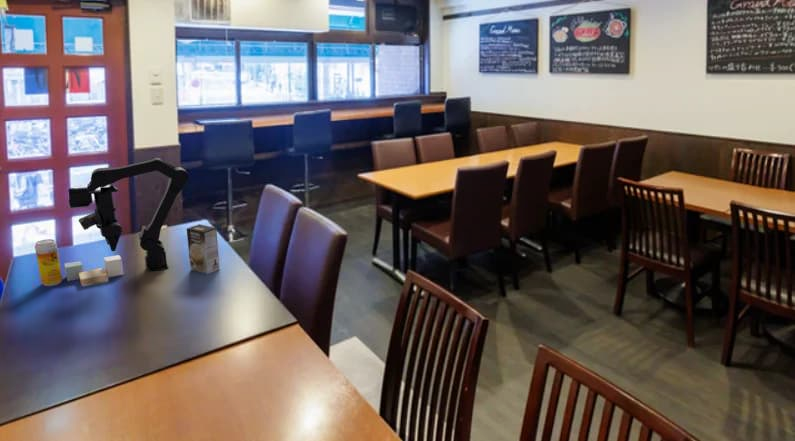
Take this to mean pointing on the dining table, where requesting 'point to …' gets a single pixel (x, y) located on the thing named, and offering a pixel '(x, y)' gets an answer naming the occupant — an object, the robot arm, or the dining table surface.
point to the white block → (113, 266)
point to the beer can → (48, 262)
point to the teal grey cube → (73, 270)
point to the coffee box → (203, 248)
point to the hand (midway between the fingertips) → (111, 247)
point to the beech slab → (93, 277)
